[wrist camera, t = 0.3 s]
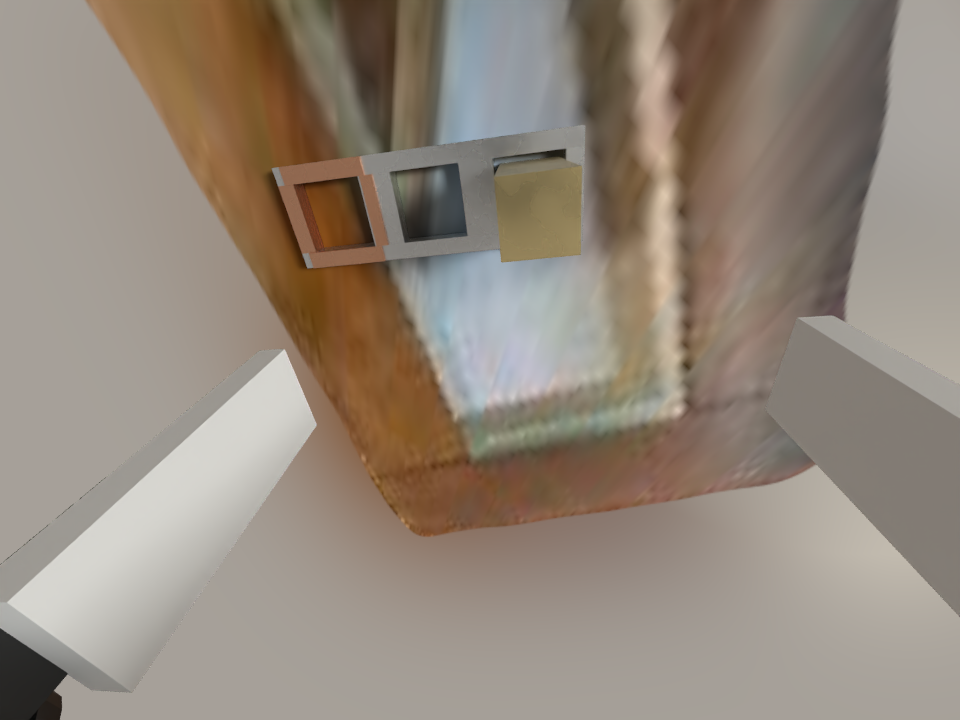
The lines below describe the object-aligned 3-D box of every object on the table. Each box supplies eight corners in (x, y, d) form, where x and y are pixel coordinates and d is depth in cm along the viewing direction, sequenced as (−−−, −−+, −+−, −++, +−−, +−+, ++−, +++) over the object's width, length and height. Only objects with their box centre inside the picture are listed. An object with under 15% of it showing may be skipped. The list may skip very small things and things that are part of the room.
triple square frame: (282, 167, 30) (270, 168, 29) (581, 125, 27) (585, 124, 26) (315, 263, 34) (306, 268, 33) (579, 236, 31) (583, 241, 30)
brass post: (500, 163, 29) (493, 177, 19) (557, 156, 29) (582, 165, 18) (505, 221, 31) (501, 262, 21) (557, 216, 31) (580, 254, 21)
